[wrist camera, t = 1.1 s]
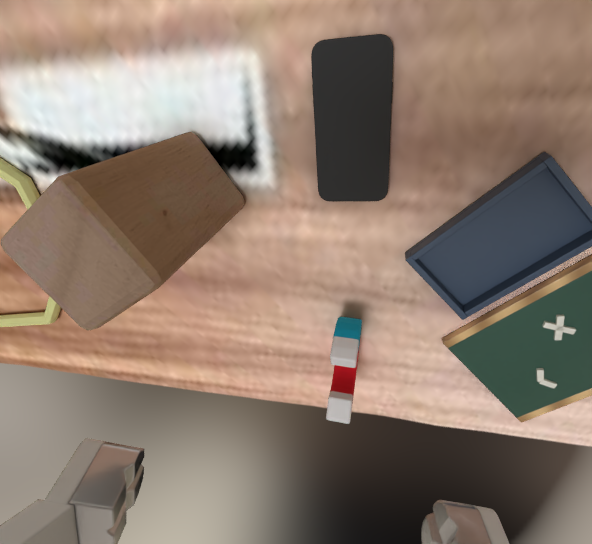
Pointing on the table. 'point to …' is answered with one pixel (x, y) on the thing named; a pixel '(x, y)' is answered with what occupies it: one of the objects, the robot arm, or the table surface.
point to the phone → (353, 116)
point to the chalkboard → (533, 345)
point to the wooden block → (122, 226)
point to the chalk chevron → (544, 381)
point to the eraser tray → (505, 238)
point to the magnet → (344, 368)
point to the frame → (28, 197)
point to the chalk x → (559, 327)
